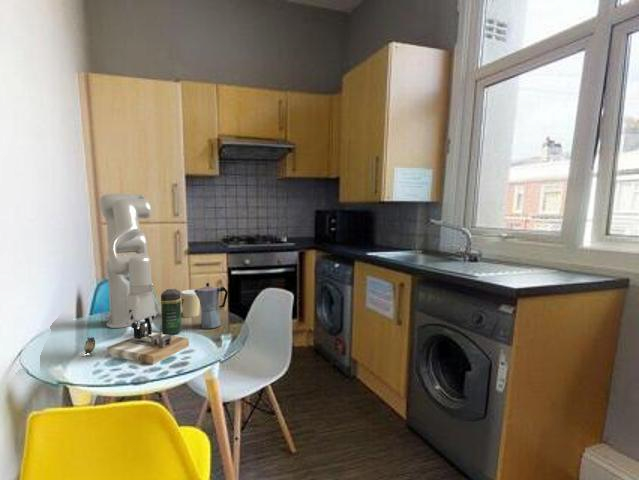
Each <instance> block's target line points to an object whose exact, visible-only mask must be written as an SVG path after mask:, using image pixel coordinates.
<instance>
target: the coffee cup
mask: <svg viewBox="0 0 639 480" xmlns="http://www.w3.org/2000/svg"><path fill="white" fill-rule="evenodd" d="M195 290H196V289H187V290H183V291H180V296H181V310H182V316H183V317H184V318H195V317H198V316H199V315H200V312H201V305H200V301H199V298H198V296H197V295H196V293H195V292H194V291H195Z"/></svg>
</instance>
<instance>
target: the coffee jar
mask: <svg viewBox="0 0 639 480" xmlns="http://www.w3.org/2000/svg"><path fill="white" fill-rule="evenodd" d="M160 294H161V295H160V302H161V303H160V304H161V305H160V307H161V308H160V309H161V310H160V311H161V313H160V314H161V334H165V335H171V336H175V335H176V334H180V333H181V332H182V300H181V291H180V290H178V289H176V288H171V289H170V288H169V289H166V290H164V291H162V293H160Z"/></svg>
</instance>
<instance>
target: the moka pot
mask: <svg viewBox="0 0 639 480" xmlns="http://www.w3.org/2000/svg"><path fill="white" fill-rule="evenodd" d="M205 285H206V286H204V287H202V288H201V287H200V288H196V289H194V290H195V291H194V292H195V293H196V295H197V296H198V298H199V301H200V311H201V314H200V316H201V317H200V318H201V319H200V328H201V329H205V330H208V329H215V328H218V327H220V326H221V325H222V322H221V317H220V313H219V308H225V306H226V301H227V298H228V295H229V291H228V290H227V289H226V288H225V287H224V286H221V287H217V286H210V283H209V282H206V283H205ZM221 292H225V293H224V296H223V301H222V304H221V305H219V293H221Z"/></svg>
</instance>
